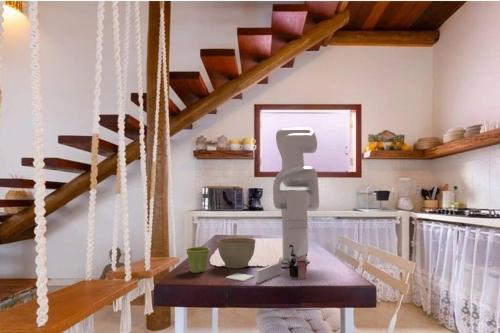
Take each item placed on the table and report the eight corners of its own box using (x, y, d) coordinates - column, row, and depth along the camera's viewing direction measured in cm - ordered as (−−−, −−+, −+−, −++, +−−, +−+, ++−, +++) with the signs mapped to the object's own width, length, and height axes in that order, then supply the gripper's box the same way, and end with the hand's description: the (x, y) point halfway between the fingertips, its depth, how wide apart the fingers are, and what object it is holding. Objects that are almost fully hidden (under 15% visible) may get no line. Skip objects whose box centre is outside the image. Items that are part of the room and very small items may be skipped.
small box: (292, 279, 116) (291, 257, 117) (290, 276, 121) (289, 254, 121) (306, 279, 117) (305, 256, 117) (304, 276, 121) (303, 254, 122)
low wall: (279, 272, 127) (279, 262, 127) (281, 272, 126) (281, 262, 126) (256, 282, 113) (256, 270, 114) (259, 282, 113) (258, 271, 113)
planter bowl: (258, 262, 144) (258, 237, 145) (251, 271, 129) (251, 243, 129) (223, 261, 148) (223, 236, 148) (212, 270, 132) (212, 242, 133)
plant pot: (205, 274, 125) (205, 251, 125) (181, 273, 127) (182, 250, 127) (212, 268, 134) (212, 247, 134) (191, 268, 136) (191, 246, 136)
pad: (237, 274, 125) (237, 273, 125) (254, 277, 120) (254, 275, 120) (225, 278, 119) (225, 277, 119) (243, 281, 115) (243, 280, 115)
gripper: (298, 222, 129) (299, 268, 128) (276, 226, 115) (277, 278, 114) (316, 223, 125) (317, 271, 124) (295, 227, 111) (296, 282, 110)
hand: (298, 274), depth 119 cm, fingers closed on small box, 6 cm apart
